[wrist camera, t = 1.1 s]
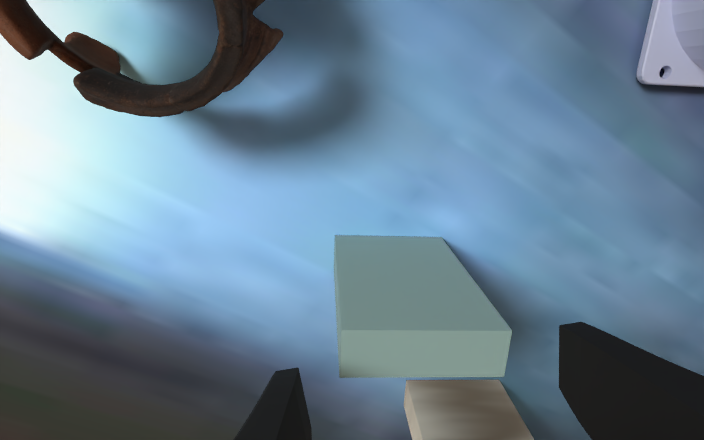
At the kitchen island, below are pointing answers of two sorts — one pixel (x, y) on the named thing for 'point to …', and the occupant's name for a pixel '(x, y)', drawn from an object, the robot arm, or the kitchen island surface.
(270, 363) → the kitchen island surface
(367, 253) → the domino
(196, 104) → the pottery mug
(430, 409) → the domino
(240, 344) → the kitchen island surface
